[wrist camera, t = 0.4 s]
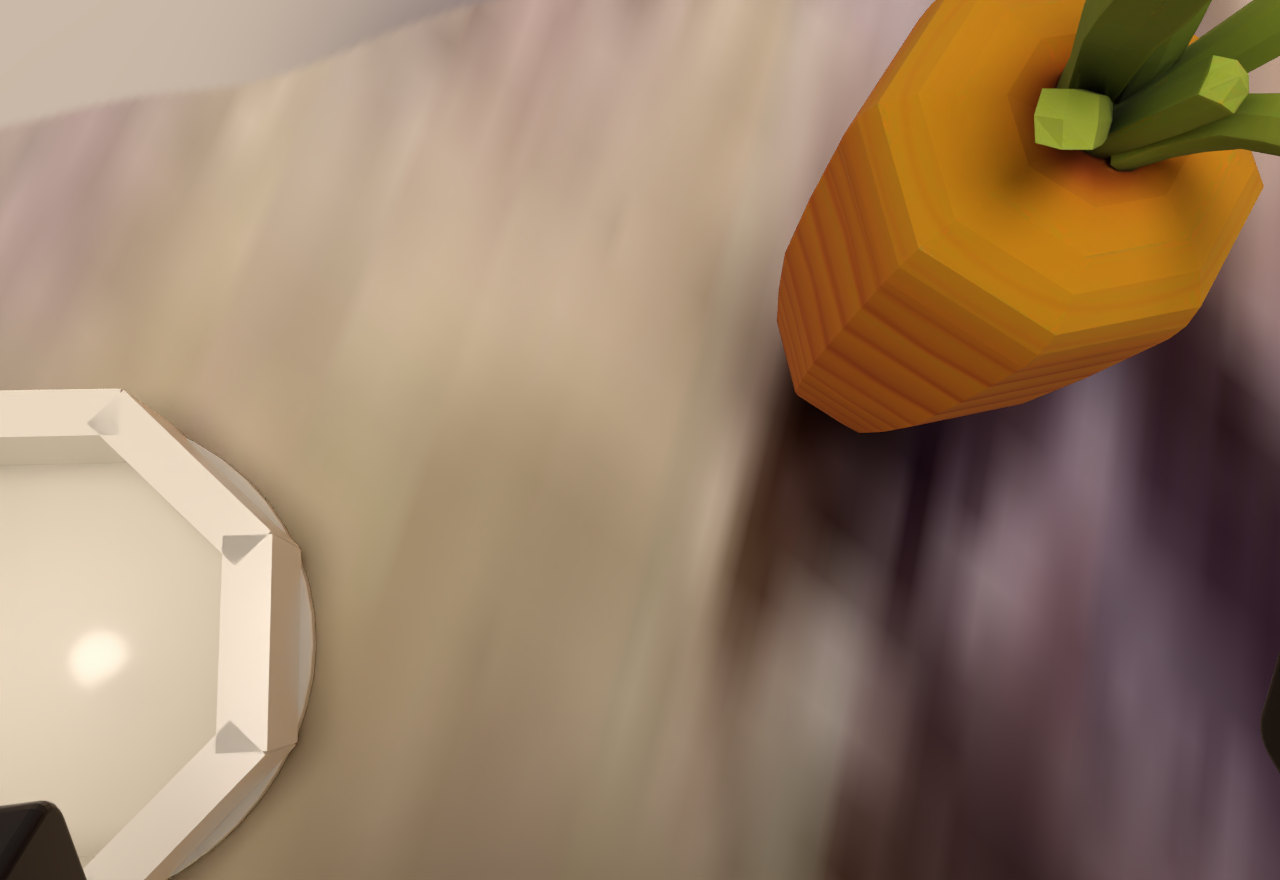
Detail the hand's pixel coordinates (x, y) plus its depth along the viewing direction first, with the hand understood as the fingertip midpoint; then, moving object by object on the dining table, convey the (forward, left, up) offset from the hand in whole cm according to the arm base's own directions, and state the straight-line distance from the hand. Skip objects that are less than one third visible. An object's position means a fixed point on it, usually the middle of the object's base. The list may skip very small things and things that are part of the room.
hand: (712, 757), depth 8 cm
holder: (+8, +6, -14) cm, 17 cm away
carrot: (+1, -8, -14) cm, 16 cm away
